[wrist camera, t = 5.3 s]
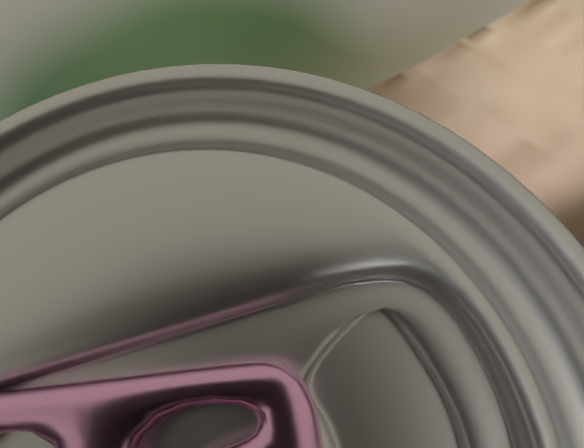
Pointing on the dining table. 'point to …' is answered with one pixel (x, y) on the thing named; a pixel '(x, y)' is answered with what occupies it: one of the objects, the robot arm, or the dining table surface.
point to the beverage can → (275, 274)
